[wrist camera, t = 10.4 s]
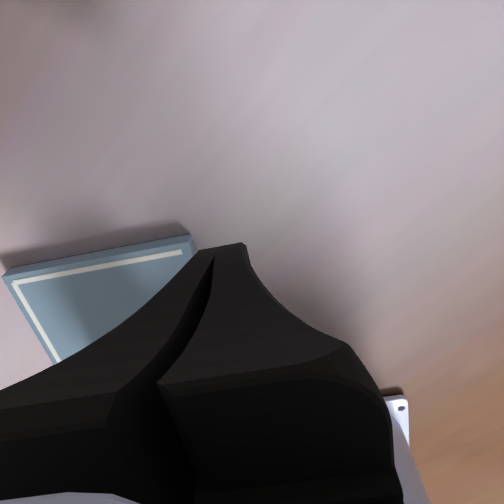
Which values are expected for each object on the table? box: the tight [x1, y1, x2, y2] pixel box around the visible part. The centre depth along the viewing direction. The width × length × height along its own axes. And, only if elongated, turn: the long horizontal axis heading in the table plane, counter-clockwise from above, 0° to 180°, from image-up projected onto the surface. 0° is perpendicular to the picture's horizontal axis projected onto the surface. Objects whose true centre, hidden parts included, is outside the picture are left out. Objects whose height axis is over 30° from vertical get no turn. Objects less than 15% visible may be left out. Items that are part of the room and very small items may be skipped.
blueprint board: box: [2, 234, 196, 365], centre depth 24 cm, size 14×11×5 cm
